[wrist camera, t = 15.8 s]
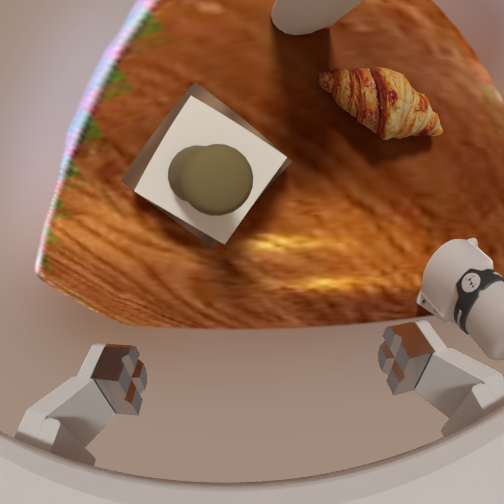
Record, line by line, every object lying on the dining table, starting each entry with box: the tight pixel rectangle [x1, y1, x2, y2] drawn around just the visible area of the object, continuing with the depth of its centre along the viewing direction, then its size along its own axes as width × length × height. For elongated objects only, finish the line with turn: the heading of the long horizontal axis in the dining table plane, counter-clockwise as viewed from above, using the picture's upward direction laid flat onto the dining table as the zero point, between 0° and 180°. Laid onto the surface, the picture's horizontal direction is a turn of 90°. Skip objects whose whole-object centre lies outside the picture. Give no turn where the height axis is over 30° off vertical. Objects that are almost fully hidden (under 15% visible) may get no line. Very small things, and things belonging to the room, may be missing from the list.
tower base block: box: [121, 82, 292, 249], centre depth 35 cm, size 15×15×5 cm
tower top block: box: [134, 96, 287, 245], centre depth 31 cm, size 12×12×4 cm
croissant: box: [317, 67, 443, 140], centre depth 31 cm, size 21×10×8 cm
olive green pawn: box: [168, 144, 253, 216], centre depth 23 cm, size 6×6×11 cm
